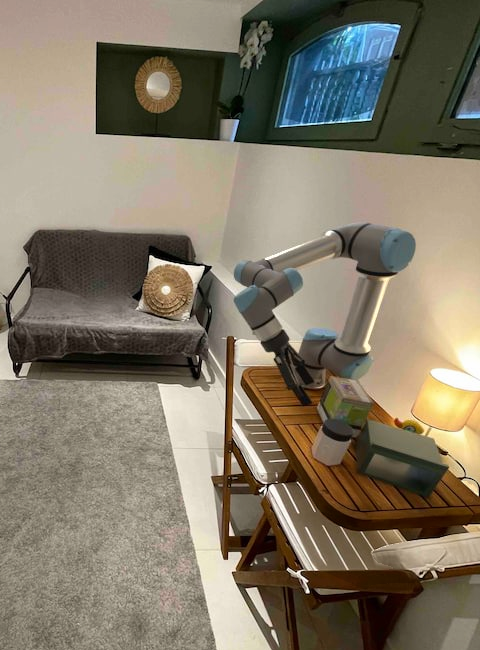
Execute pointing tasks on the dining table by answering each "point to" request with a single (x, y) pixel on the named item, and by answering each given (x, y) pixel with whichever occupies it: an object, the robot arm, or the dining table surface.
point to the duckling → (409, 426)
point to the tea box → (345, 402)
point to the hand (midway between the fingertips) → (309, 393)
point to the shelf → (396, 467)
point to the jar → (332, 442)
